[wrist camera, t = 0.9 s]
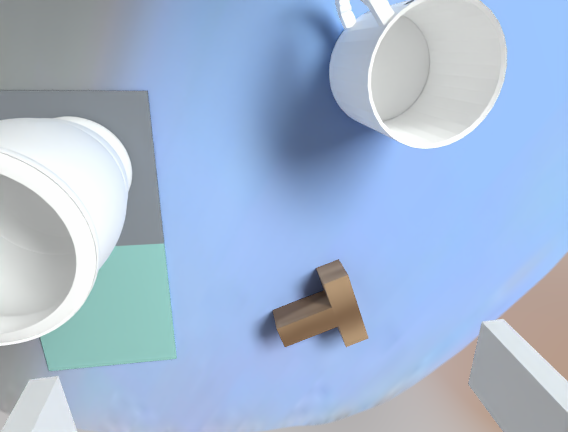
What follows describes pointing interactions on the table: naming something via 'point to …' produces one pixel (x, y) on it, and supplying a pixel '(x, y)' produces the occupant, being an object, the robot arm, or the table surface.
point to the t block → (323, 310)
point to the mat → (128, 250)
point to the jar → (55, 218)
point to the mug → (419, 68)
